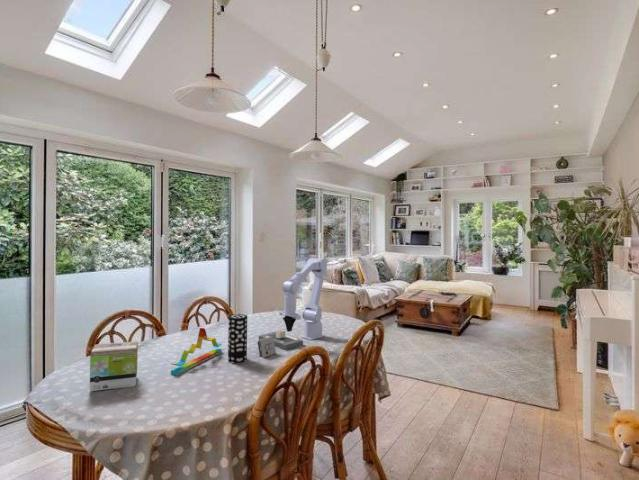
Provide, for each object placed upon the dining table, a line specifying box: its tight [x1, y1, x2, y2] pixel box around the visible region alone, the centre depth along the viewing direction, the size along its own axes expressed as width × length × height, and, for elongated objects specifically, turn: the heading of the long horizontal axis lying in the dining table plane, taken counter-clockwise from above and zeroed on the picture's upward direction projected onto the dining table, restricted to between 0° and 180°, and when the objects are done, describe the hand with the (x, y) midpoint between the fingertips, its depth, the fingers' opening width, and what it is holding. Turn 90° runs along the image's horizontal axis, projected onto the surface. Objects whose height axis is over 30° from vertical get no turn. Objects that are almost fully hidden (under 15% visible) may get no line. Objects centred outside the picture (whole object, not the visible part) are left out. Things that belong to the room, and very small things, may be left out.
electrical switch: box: [257, 336, 277, 358], centre depth 175 cm, size 8×5×8 cm, turn 141°
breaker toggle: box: [275, 328, 286, 338], centre depth 194 cm, size 4×3×4 cm
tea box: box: [89, 340, 139, 393], centre depth 139 cm, size 15×10×15 cm, turn 114°
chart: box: [170, 327, 223, 376], centre depth 163 cm, size 30×3×15 cm, turn 160°
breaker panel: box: [258, 331, 304, 351], centre depth 194 cm, size 12×22×3 cm, turn 46°
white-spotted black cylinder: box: [227, 313, 248, 364], centre depth 167 cm, size 8×8×20 cm
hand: (289, 331), depth 189 cm, fingers closed
